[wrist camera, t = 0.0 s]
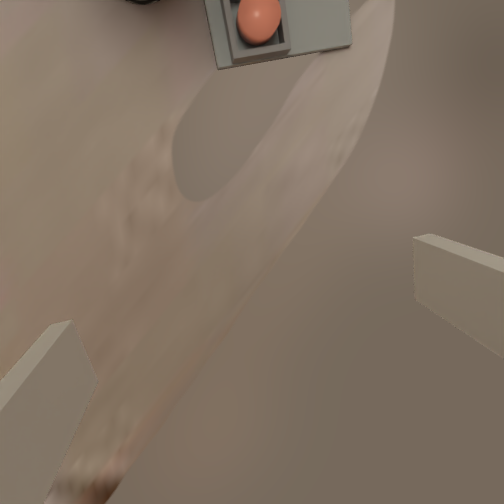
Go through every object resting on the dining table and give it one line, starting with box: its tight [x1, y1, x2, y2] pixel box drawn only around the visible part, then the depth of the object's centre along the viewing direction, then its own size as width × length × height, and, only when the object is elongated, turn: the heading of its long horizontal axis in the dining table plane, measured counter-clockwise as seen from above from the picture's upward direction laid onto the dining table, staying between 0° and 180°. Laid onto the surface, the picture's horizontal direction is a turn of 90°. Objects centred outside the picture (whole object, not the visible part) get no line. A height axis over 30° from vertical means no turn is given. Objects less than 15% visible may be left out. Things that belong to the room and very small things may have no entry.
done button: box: [236, 0, 281, 46], centre depth 31 cm, size 4×4×2 cm
